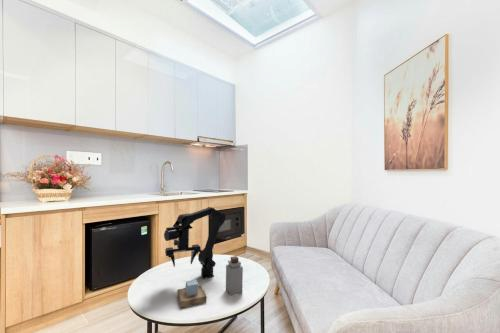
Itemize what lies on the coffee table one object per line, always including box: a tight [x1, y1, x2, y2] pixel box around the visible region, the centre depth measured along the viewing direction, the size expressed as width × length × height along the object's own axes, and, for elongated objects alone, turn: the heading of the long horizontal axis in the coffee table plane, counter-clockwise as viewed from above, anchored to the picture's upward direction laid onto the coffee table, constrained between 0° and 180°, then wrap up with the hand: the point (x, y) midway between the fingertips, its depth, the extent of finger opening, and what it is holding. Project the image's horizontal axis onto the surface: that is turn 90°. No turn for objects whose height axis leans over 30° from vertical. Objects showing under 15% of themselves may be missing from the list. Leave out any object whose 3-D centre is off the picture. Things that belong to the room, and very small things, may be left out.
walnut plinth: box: [176, 284, 208, 309], centre depth 113 cm, size 12×12×3 cm
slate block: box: [185, 279, 199, 296], centre depth 113 cm, size 5×5×5 cm
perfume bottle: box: [225, 255, 244, 297], centre depth 121 cm, size 7×7×18 cm
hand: (182, 265), depth 127 cm, fingers open, 9 cm apart
